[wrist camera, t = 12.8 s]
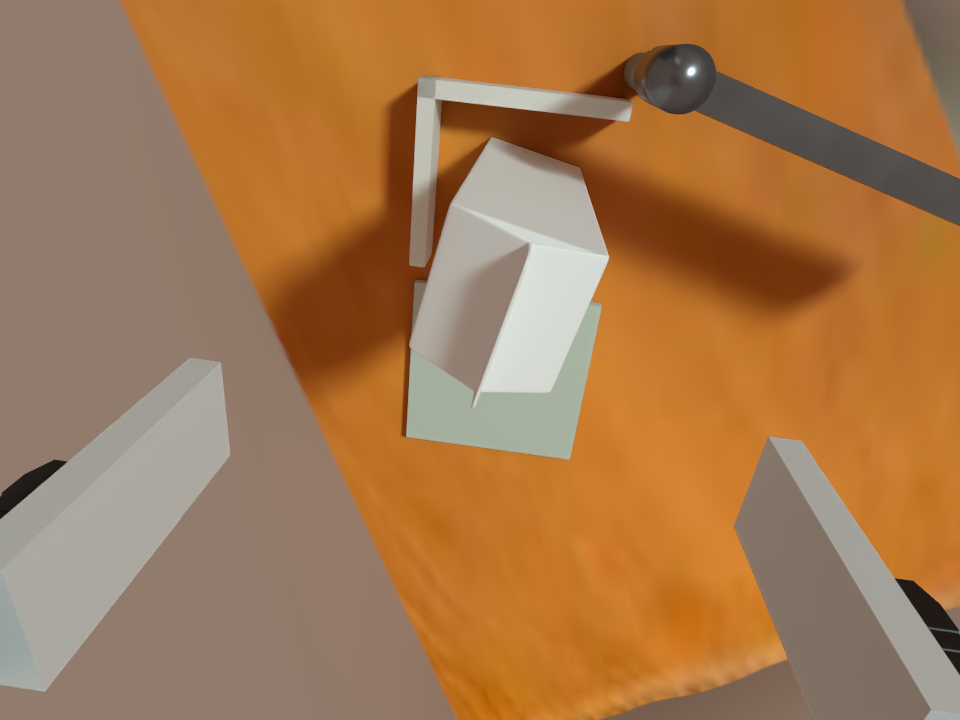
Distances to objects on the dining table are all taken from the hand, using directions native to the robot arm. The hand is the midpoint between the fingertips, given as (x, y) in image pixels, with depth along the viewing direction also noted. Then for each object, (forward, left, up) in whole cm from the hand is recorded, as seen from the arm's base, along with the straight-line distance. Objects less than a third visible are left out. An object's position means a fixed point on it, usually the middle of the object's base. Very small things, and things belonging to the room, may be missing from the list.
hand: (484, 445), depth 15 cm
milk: (0, 0, -28) cm, 28 cm away
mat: (+13, 0, -28) cm, 30 cm away
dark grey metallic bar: (-6, +16, -21) cm, 27 cm away
